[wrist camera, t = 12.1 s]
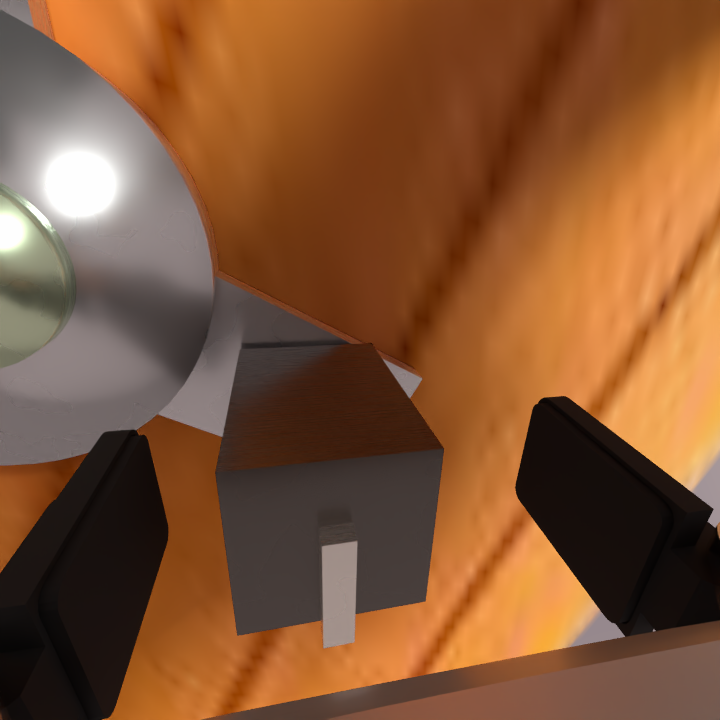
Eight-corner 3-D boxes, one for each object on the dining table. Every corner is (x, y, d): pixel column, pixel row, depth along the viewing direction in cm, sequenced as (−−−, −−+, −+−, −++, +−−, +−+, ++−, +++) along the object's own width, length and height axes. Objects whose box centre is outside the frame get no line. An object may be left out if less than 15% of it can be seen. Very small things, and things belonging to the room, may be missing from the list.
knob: (239, 349, 13) (212, 490, 7) (371, 342, 14) (454, 463, 8) (250, 466, 15) (236, 665, 8) (367, 454, 16) (431, 626, 9)
